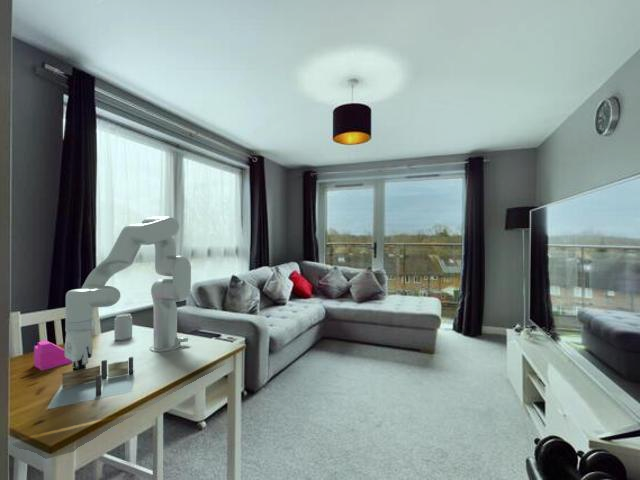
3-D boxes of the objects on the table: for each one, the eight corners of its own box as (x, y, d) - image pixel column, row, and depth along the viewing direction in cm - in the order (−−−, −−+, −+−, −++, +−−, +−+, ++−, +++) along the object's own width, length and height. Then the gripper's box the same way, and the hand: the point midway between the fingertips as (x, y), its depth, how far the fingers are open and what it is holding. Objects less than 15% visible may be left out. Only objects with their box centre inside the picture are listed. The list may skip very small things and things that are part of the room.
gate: (99, 378, 106) (99, 365, 105) (100, 379, 105) (100, 365, 105) (62, 387, 99) (62, 373, 99) (62, 388, 98) (62, 374, 98)
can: (110, 340, 148) (110, 316, 148) (122, 335, 155) (122, 312, 155) (123, 341, 146) (123, 316, 146) (135, 336, 154) (135, 313, 154)
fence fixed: (133, 372, 111) (133, 355, 111) (130, 389, 99) (130, 369, 99) (101, 378, 106) (101, 360, 106) (95, 396, 94) (95, 376, 94)
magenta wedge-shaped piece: (41, 372, 113) (41, 345, 113) (34, 365, 119) (34, 339, 119) (80, 361, 122) (80, 336, 122) (72, 356, 128) (72, 332, 128)
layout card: (134, 371, 113) (134, 370, 113) (131, 393, 97) (131, 391, 97) (62, 384, 103) (62, 382, 103) (46, 411, 87) (46, 409, 87)
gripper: (57, 324, 105) (57, 377, 104) (75, 331, 97) (75, 388, 97) (83, 319, 111) (82, 369, 111) (102, 325, 103) (101, 379, 103)
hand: (79, 378), depth 104 cm, fingers closed
